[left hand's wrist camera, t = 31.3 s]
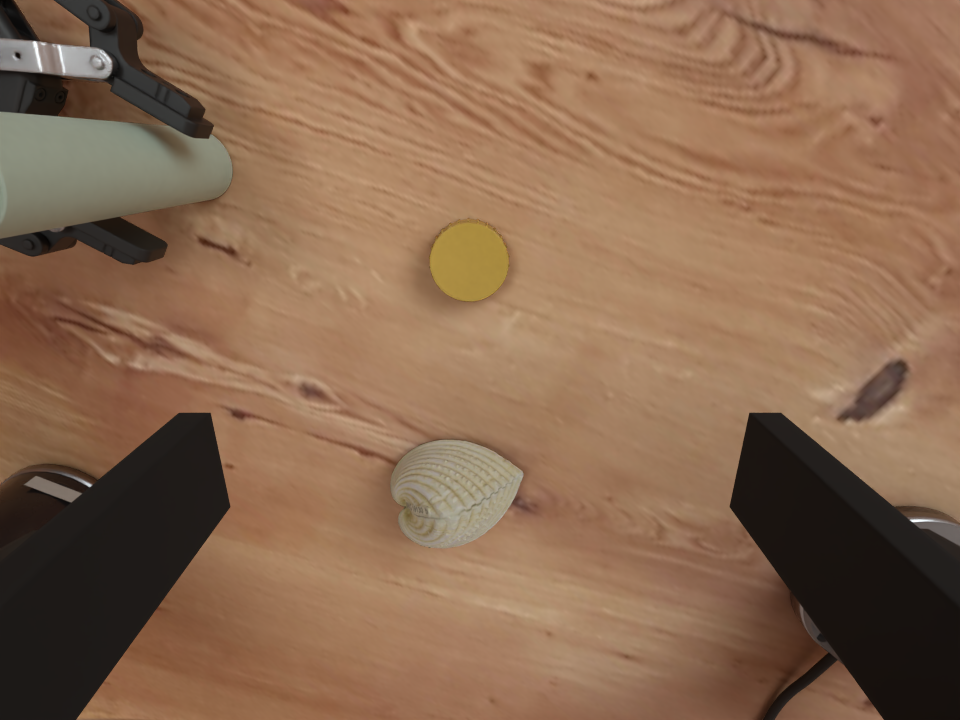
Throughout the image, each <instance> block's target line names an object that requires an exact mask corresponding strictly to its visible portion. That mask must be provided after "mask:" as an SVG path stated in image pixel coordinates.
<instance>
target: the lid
mask: <svg viewBox="0 0 960 720" xmlns="http://www.w3.org/2000/svg"><path fill="white" fill-rule="evenodd" d="M502 239H503V238H502V235H499V233H498V232H497V231H496V228H492V227H491V226H490V225H488V223H487V222H486V223H484V222H482V221H479V219H477V220H473V219H469V218H468V219H466V220H460V219H459V220H458V221H457V222H454V223H452V224H451V223H449V225H448V226H447V227H446V228H445V229H442V230H441V233H440V234H439V235H438V236H436V238H435V243H434V244H432V247H431V249H432V250H431V254H430V256H429V259H430V270H431V274H432V277H433V279H434V281H435V282H436V284H437V285H438V287H439V288H440V289H441V290H442V291H443V292H444V293H445V294H447V295H448V296H450V297H452V298H454V299H457V300H460V301H467V302H472V301H478V300H482V299H485V298H487V297H489V296H490V295H492V294H493V293H495V292H496V291H497V290H498V289H499V287H500V286H501V285H502V283H503V282H504V280H505V278H506V276H507V272H508V267H509V261H508V257H509V254H508V252H507V250H506V248H507V246H506V243H504V242H503V240H502Z"/></svg>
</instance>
